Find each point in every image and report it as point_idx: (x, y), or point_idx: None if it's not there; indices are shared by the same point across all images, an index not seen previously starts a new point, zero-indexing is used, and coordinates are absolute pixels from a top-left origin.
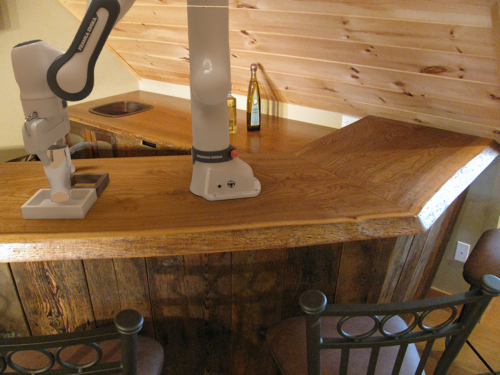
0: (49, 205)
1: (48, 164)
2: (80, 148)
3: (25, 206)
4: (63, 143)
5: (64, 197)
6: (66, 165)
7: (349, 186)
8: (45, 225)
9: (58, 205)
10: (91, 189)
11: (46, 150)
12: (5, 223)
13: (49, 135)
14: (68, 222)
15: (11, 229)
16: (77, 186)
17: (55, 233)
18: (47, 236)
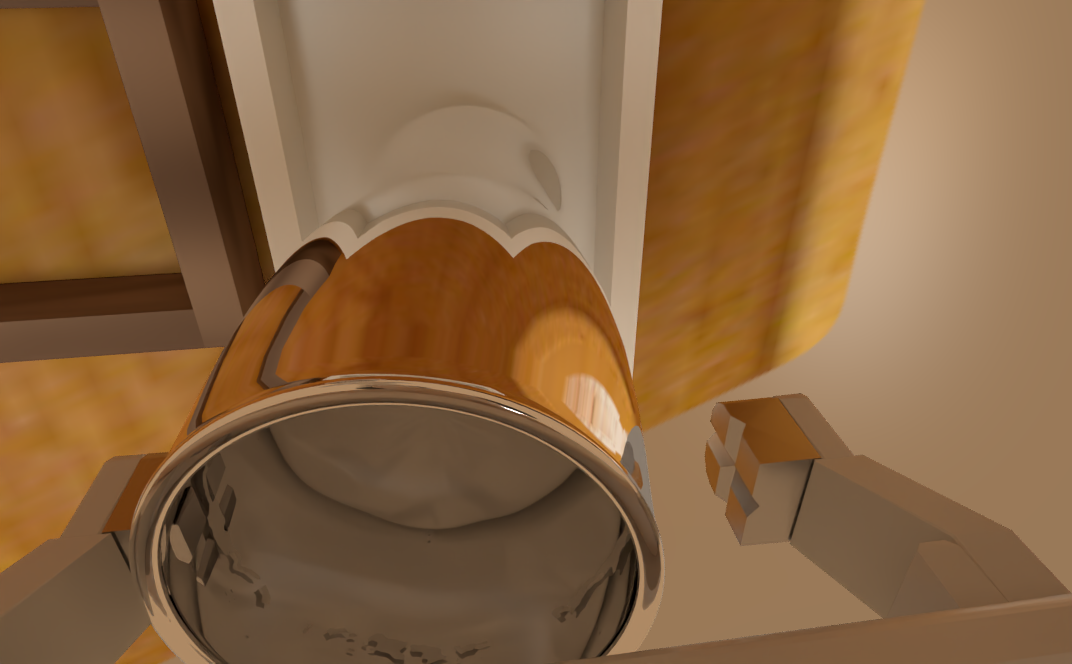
0: (616, 242)
1: (806, 404)
2: None
3: None
4: (36, 582)
5: (541, 161)
6: (525, 227)
7: None
8: (711, 196)
9: (620, 172)
10: None
11: (965, 587)
12: (655, 422)
13: None
14: (688, 46)
15: (730, 361)
16: (166, 182)
17: (837, 77)
18: (865, 115)
